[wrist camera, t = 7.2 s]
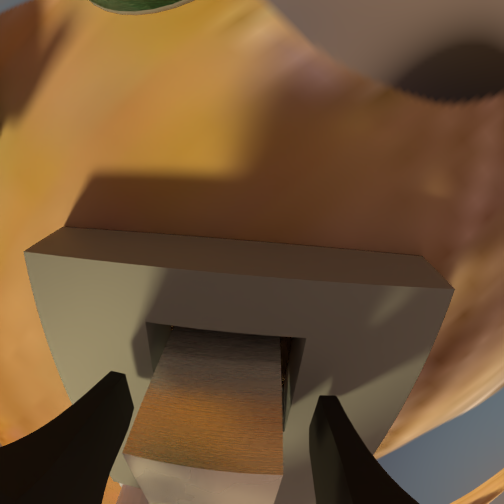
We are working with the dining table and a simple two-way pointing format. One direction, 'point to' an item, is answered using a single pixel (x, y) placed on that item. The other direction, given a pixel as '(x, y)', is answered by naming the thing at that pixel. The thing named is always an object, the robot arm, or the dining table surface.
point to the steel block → (211, 421)
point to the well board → (242, 321)
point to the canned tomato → (138, 6)
